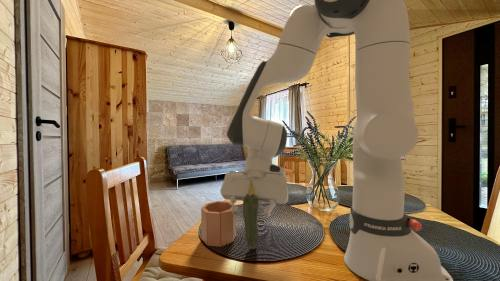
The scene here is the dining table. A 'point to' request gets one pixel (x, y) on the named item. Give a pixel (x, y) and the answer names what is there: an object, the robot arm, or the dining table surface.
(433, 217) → the dining table surface
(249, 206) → the vegetable
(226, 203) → the crock
